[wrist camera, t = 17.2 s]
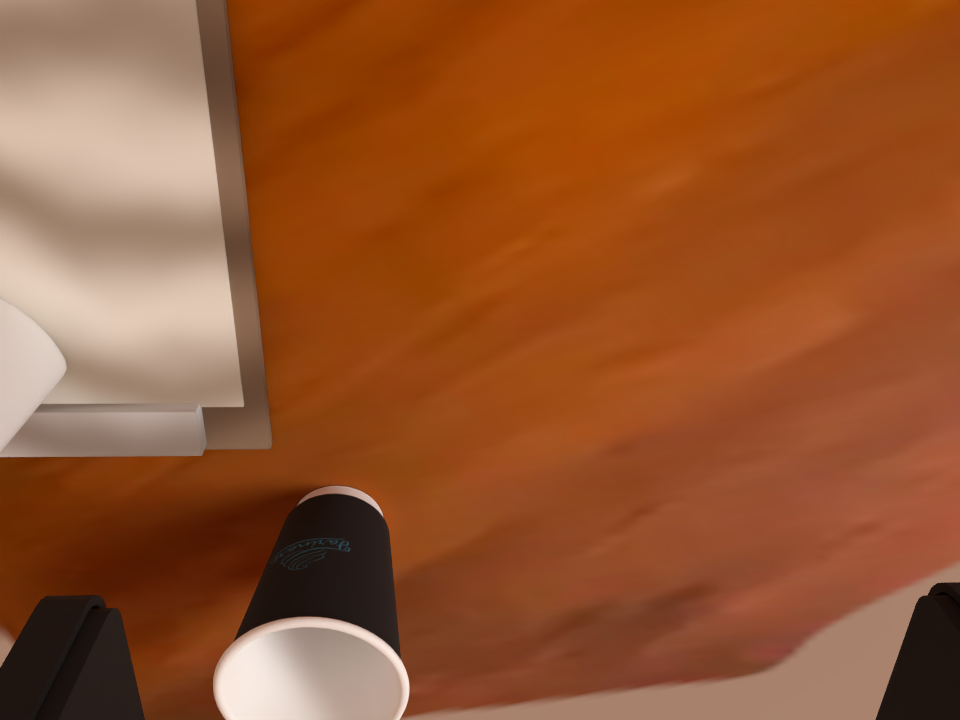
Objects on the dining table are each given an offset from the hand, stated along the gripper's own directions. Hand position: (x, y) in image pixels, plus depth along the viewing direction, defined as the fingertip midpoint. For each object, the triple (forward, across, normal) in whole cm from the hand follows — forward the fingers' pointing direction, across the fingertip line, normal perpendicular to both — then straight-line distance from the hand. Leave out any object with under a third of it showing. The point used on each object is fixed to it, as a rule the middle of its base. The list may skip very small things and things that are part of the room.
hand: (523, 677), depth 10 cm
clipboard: (+28, +17, +4) cm, 33 cm away
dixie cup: (+28, +6, +20) cm, 35 cm away
